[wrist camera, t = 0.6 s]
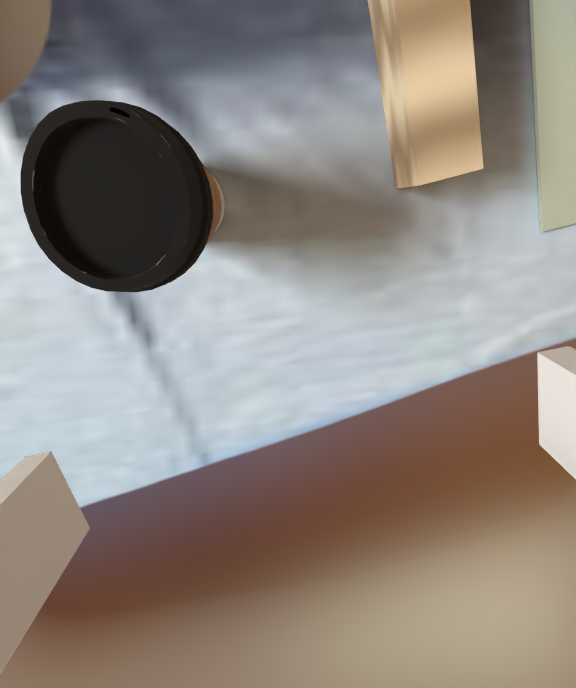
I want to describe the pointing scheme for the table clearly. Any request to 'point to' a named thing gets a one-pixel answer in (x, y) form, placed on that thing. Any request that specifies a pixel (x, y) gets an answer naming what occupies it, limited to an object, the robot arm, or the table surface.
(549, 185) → the sage board
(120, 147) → the coffee cup
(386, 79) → the pine slat
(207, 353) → the table surface
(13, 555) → the robot arm
